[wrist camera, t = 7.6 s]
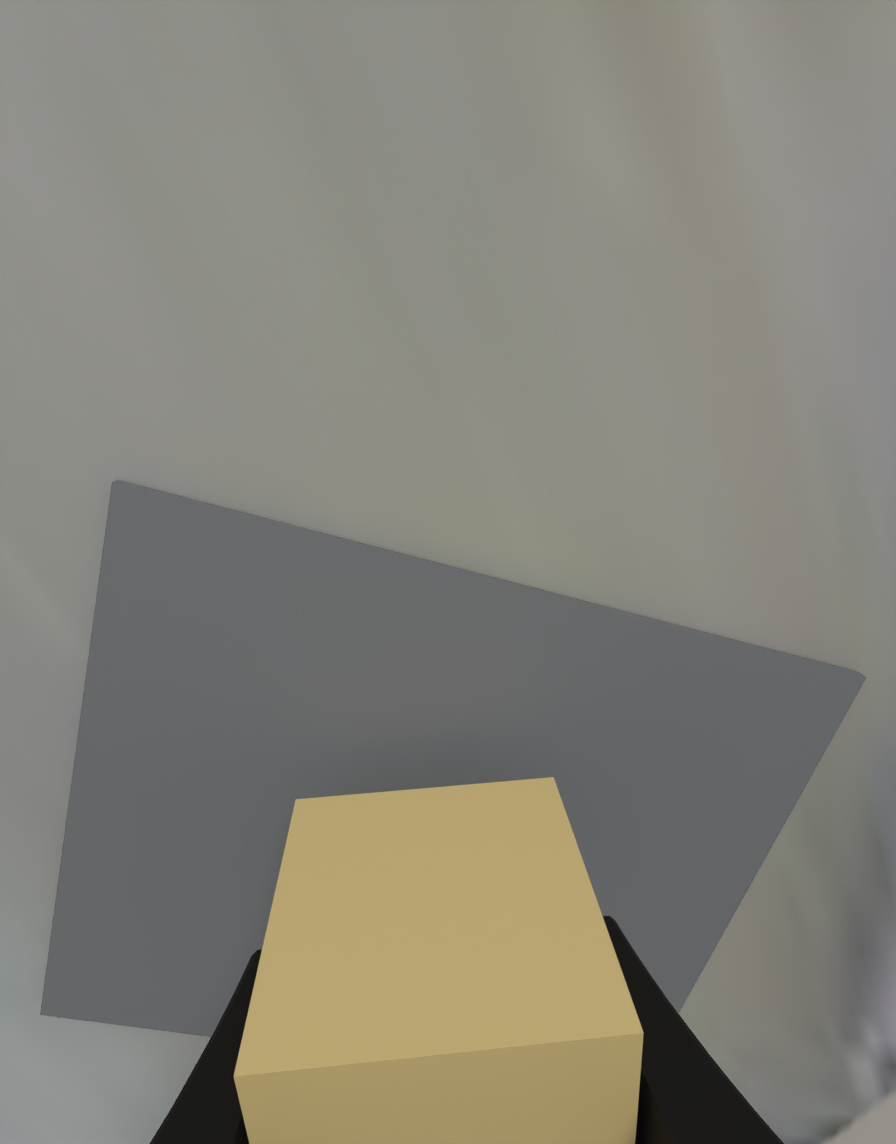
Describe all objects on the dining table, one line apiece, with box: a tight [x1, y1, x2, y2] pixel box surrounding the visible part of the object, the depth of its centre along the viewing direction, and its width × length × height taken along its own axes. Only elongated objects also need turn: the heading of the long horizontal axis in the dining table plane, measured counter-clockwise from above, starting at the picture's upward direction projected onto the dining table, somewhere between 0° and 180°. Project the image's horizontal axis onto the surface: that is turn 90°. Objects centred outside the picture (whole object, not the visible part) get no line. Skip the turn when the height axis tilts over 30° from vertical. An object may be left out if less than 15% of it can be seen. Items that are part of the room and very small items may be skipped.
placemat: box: [40, 480, 866, 1037], centre depth 13 cm, size 14×12×1 cm
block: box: [234, 777, 644, 1144], centre depth 10 cm, size 4×4×4 cm
